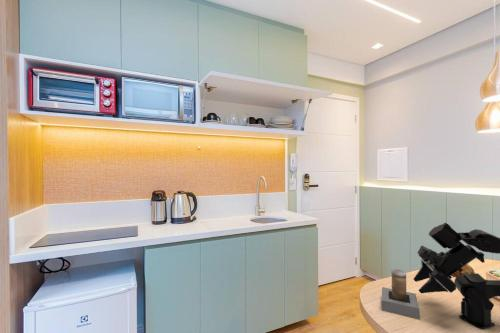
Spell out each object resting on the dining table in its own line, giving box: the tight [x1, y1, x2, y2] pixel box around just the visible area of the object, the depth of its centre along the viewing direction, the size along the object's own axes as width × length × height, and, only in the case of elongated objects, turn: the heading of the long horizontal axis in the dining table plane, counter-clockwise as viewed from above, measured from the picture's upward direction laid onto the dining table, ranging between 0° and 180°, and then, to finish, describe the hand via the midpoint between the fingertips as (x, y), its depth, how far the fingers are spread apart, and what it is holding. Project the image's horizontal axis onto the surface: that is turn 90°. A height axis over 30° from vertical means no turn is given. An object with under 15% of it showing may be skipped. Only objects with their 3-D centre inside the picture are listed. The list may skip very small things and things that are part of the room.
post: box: [391, 268, 407, 303], centre depth 89 cm, size 5×5×12 cm
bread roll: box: [451, 263, 476, 279], centre depth 114 cm, size 10×10×8 cm
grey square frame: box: [381, 286, 420, 320], centre depth 89 cm, size 11×11×4 cm
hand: (416, 285), depth 87 cm, fingers open, 9 cm apart
